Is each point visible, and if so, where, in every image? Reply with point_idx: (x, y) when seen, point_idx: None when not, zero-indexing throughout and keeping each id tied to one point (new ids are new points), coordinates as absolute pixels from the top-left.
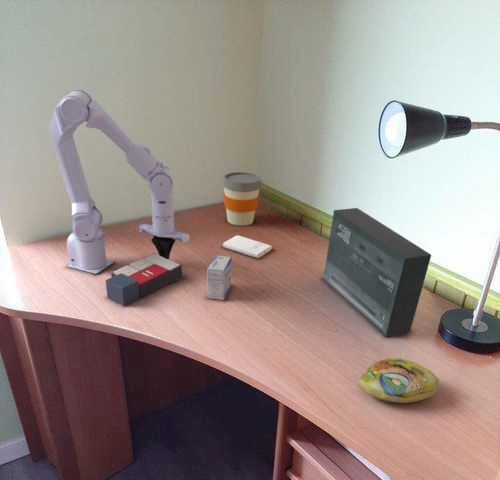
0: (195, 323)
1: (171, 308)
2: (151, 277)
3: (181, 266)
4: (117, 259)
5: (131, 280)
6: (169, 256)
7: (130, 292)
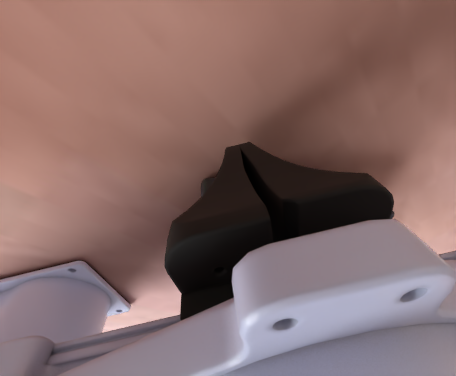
0: None
1: None
2: None
3: (393, 214)
4: (54, 238)
5: None
6: (256, 146)
7: None
